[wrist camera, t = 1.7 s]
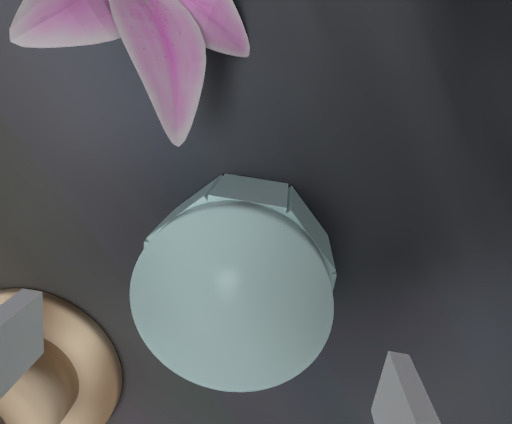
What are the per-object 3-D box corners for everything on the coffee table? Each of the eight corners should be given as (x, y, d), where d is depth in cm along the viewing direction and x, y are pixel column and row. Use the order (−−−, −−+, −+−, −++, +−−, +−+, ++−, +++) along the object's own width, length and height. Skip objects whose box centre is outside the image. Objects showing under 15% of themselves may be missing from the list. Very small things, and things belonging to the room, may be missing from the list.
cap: (338, 191, 21) (354, 230, 16) (308, 331, 24) (312, 407, 18) (176, 165, 22) (134, 193, 16) (165, 306, 24) (125, 372, 19)
